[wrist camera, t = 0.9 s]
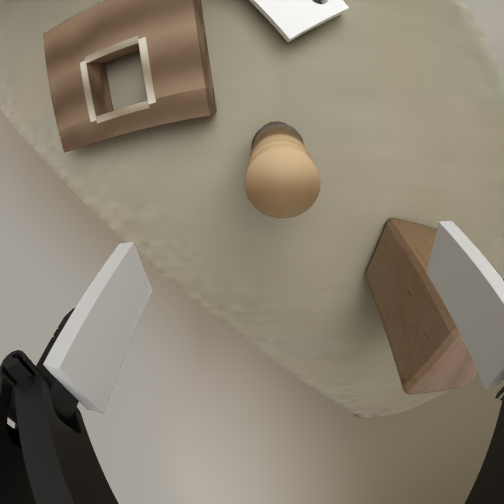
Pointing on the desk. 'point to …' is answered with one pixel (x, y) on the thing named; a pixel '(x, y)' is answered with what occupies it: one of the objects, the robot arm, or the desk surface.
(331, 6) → the bracket
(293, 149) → the oak peg
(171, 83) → the seat board
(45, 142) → the desk surface
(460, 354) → the wooden block
